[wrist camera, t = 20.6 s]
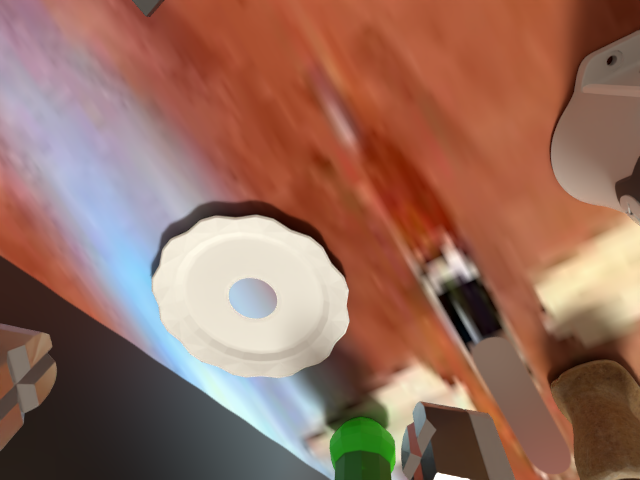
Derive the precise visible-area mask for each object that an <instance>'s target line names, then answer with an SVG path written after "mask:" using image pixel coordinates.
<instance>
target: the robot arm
mask: <svg viewBox="0 0 640 480" xmlns="http://www.w3.org/2000/svg"><path fill="white" fill-rule="evenodd" d="M610 56H612V58H613V60H612V62H611V63H610V64H609V65H607V59H608V58H609V57H610ZM551 162H552V168H553V171H554V174H555V177H556V179H557V180H558V182H559V184H560V185H561V186H562V188H563V189H564V190H565V191H566V192H567V193H569V194H570V195H571V196H573V197H574V198H576V199H578V200H580V201H583V202H585V203H589V204H593V205H599V206H605V207H609V208H612V209H615V210H618V211H620V212H623V213H625V214H627V215H628V216H629V217H630V218H631V219H632V220H633V221H634V222H635V223H637V224H638V225H639V226H640V30H638V31H636V32H634V33H632V34H630V35H628V36H626V37H623V38H621V39H619V40H617V41H615V42H613V43H611V44H609V45H607V46H605V47H603V48H601V49H599V50H597V51H595V52H593V53H591V54H589V55H588V56H586V57H585V58H584V59H583V61H582V62H581V64H580V67H579V69H578V73H577V77H576V83H575V89H574V94H573V96H572V98H571V100H570V102H569V104H568V106H567V107H566V109H565V111H564V112H563V114H562V116H561V118H560V120H559V122H558V124H557V127H556V129H555V132H554V136H553V140H552V146H551ZM51 347H52V343H51V340H50V336H49V335H48V334H45V333H42V332H37V331H32V330H27V329H23V328H18V327H13V326H9V325H4V324H0V450H1V449H2V448H3V447H4V446H5V445H6V443H7V442H8V441H9V440H10V439H11V438H12V437H13V435H14V434H15V433H16V432H17V431H18V429H19V428H20V427H21V426H22V425H23V423H24V413H26V412H28V411H30V410H32V409H33V408H35V407H37V406H39V405H40V404H41V403H42V402H43V400H44V399H45V398H46V397H47V396H48V394H49V392H50V390H51V388H52V386H53V384H54V382H55V378H56V371H57V369H56V363H55V361H54V360H53V359H52V358H51V357H50V356H49V355H48V353H47V352H48V351H49V350H50V349H51ZM413 418H414V422H413V423H412V424H410V425H408V426H407V427H406V430H405V433H404V436H403V441H402V448H401V461H402V471H403V473H404V474H405V476H406V477H407V478H408V480H515V477H514V475H513V472H512V469H511V467H510V464H509V461H508V459H507V456H506V454H505V451H504V448H503V446H502V443H501V440H500V438H499V435H498V432H497V430H496V427H495V425H494V422H493V419H492V417H491V416H490V415H489V414H488V413H482V412H477V411H471V410H466V409H465V410H463V409H461V408H455V407H449V406H444V405H438V404H432V403H426V402H418V403H417V404H416V406H415V408H414V411H413Z"/></svg>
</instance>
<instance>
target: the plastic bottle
mask: <svg viewBox="0 0 640 480" xmlns="http://www.w3.org/2000/svg"><path fill="white" fill-rule="evenodd" d="M330 454H331V461H332V464H333V467H334V470H335V480H391V473H392V471H393V469H394V465H395V462H396V461H395V442H394V439H393V437H392V436H391V434H390V433H389V432H388V431H387V430H385V429H384V428H383V427H382V426H381V425H380V424H379V423H377V422H376V421H374V420H372V419H370V418H365V417H357V418H353V419H351V420H349V421H347V422H345V423H344V424H343V425H342V426H341V427H340V428H339V429H338V430H337V431H336V432H335V433H334V434H333V436H332V438H331V440H330Z"/></svg>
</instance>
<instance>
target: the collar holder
mask: <svg viewBox="0 0 640 480" xmlns="http://www.w3.org/2000/svg"><path fill="white" fill-rule="evenodd" d="M132 1H133V2H134V3H135V4H136V5H137V7H138V8H139V9H140V10H141V11H142V12H143V14H144V15H145V16H147V17H150V16H151V15H152V14H153V13H154V12H155V10H156V9H157V8H158V7H159V6H160V5H161V3H162V2H163V1H164V0H132Z"/></svg>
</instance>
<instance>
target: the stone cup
mask: <svg viewBox="0 0 640 480" xmlns="http://www.w3.org/2000/svg"><path fill="white" fill-rule="evenodd" d="M551 393H552V396H553V398H554V400H555V402H556V404H557V406H558V408H559V409H560V411H561V412H562V414H563V415H564V416H565V417H566V418H567V419H568V420H569V422H570V423H571V424H572V426H573V432H574V458H575V464H576V468H577V471H578V475H579V477H580V480H640V387H639V386H638V384H637V383H636V381H635V380H634V379H633V377H632V376H631V375H630V374H629V372H628V371H627V370H626V369H625V368H624V367H623V366H621V365H620V364H618V363H617V362H615V361H612V360H606V359H604V360H595V361H591V362H587V363H584V364H580V365H577V366H575V367H573V368H571V369H569V370H567V371H565V372H563V373H562V374H561V375H560V376H559V378H557V379H556V380H554V381H553V382H552V383H551Z"/></svg>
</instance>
